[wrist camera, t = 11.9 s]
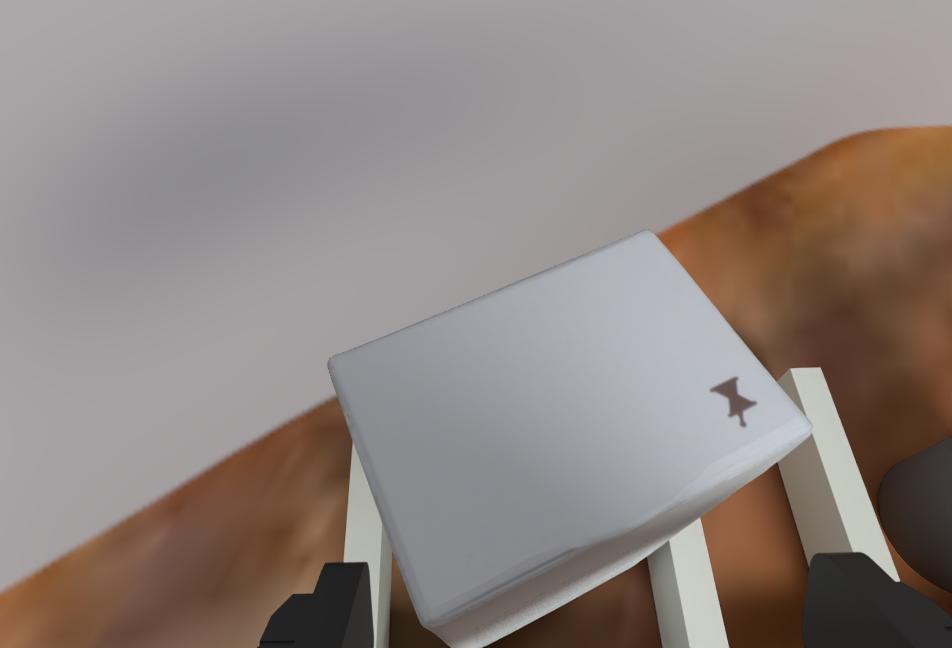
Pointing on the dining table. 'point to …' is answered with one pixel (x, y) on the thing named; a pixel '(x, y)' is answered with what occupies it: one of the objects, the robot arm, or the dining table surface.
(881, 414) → the dining table surface
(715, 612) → the rack
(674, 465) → the skincare box
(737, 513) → the dining table surface
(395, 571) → the dining table surface
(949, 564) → the charcoal plug
